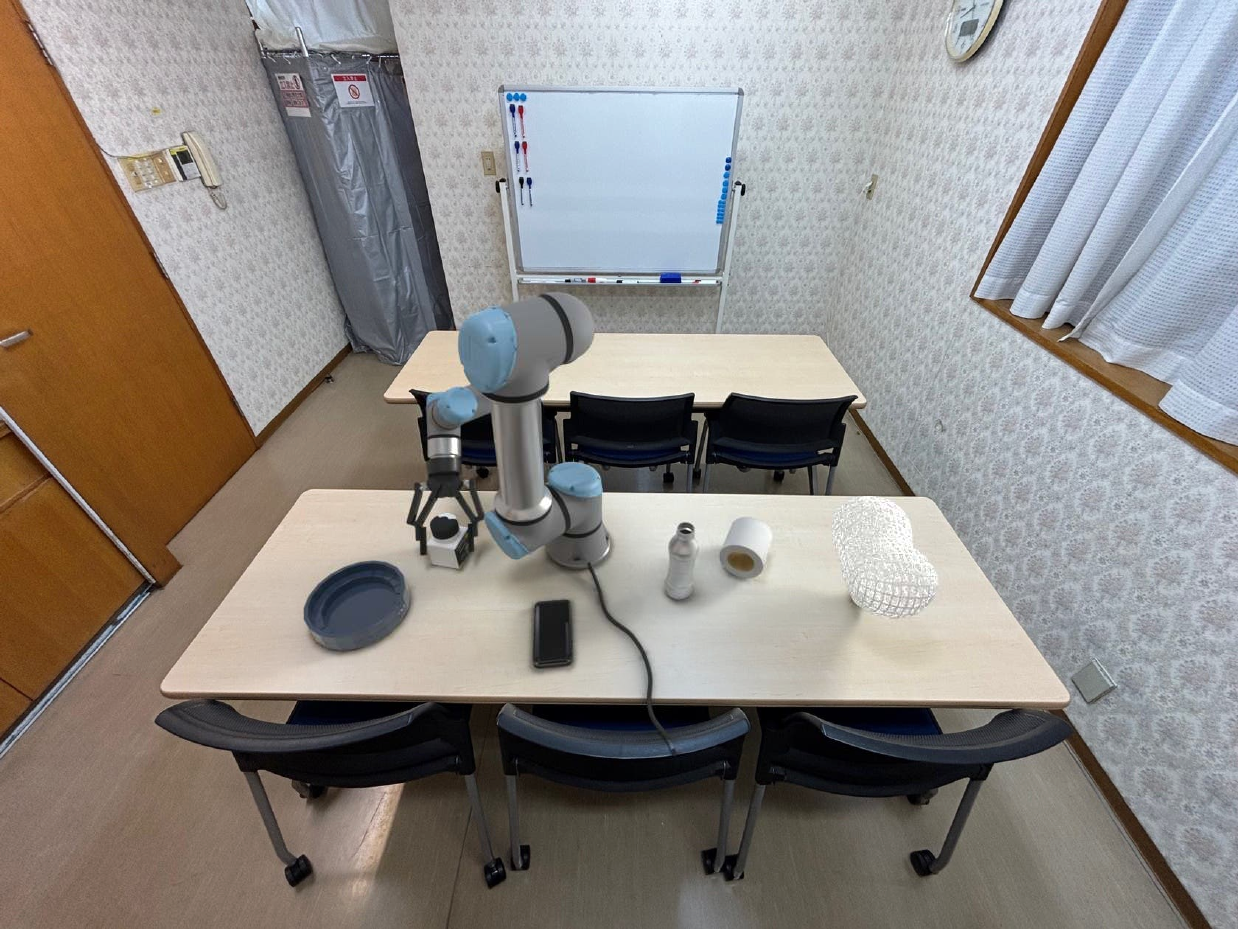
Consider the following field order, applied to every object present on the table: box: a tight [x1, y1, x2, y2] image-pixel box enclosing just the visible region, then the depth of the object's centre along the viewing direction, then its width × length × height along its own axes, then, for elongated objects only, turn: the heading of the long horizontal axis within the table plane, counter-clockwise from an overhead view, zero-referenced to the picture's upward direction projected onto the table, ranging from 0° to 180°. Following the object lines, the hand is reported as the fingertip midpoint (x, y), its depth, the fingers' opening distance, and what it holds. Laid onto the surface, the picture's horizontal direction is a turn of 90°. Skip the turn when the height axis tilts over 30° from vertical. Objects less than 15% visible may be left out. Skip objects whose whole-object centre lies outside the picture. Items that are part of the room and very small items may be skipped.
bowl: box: [303, 559, 411, 651], centre depth 108 cm, size 20×20×5 cm
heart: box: [831, 495, 939, 620], centre depth 106 cm, size 28×16×22 cm, turn 175°
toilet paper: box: [718, 516, 774, 579], centre depth 118 cm, size 10×10×10 cm
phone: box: [532, 599, 574, 669], centre depth 105 cm, size 8×1×15 cm
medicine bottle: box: [426, 512, 471, 570], centre depth 118 cm, size 7×7×12 cm
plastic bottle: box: [664, 521, 700, 600], centre depth 108 cm, size 6×7×20 cm
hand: (447, 553), depth 117 cm, fingers open, 10 cm apart
